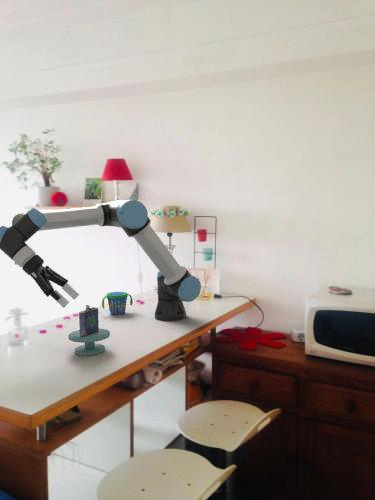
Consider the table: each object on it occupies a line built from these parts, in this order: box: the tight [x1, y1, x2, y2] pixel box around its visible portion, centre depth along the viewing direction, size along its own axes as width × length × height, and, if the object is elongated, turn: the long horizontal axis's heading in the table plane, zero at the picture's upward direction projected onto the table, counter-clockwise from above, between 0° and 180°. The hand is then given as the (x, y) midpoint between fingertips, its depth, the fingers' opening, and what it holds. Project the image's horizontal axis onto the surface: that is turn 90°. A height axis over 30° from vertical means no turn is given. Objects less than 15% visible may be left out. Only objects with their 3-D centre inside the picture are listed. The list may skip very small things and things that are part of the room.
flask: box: [78, 304, 100, 337], centre depth 164 cm, size 9×3×11 cm, turn 150°
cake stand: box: [68, 327, 111, 357], centre depth 165 cm, size 15×15×6 cm
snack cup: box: [101, 291, 134, 316], centre depth 222 cm, size 16×10×10 cm
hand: (72, 301), depth 163 cm, fingers open, 13 cm apart
